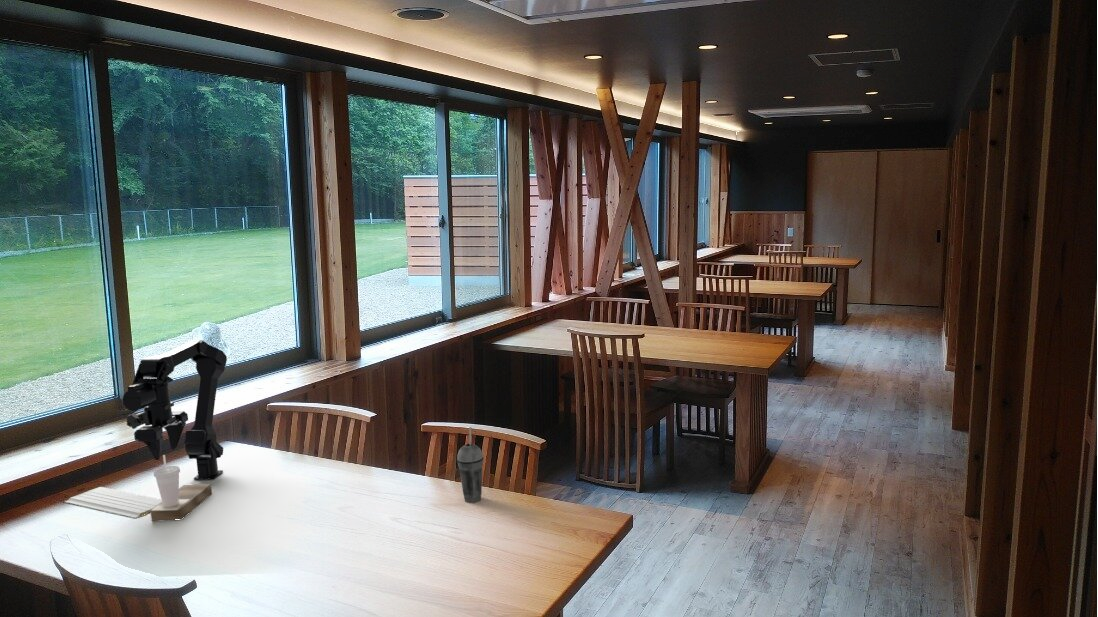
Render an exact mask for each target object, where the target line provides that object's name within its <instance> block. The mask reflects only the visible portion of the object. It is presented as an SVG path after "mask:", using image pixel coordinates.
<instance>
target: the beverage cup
mask: <svg viewBox="0 0 1098 617" xmlns="http://www.w3.org/2000/svg"><path fill="white" fill-rule="evenodd" d="M468 435H469V436H468V437H469V443H466V444H464V445H463V446H461V447H460V448H459V450H458V453H457V455H456V457H457V458H456V461H457V465H458V468H459V476H460V481H461V487H462V493H463V494H462V495H463V499H464V502H466V503H469V504H475V503H478V502H481V500H482V492H483V490H482V486H483V484H482V482H483V466H484V465H483V464H484V459H485V458H484V454H483V451H482V449H481V447H479V446H478V445H476V444H474V443H472V427H470V426H469V434H468Z"/></svg>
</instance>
